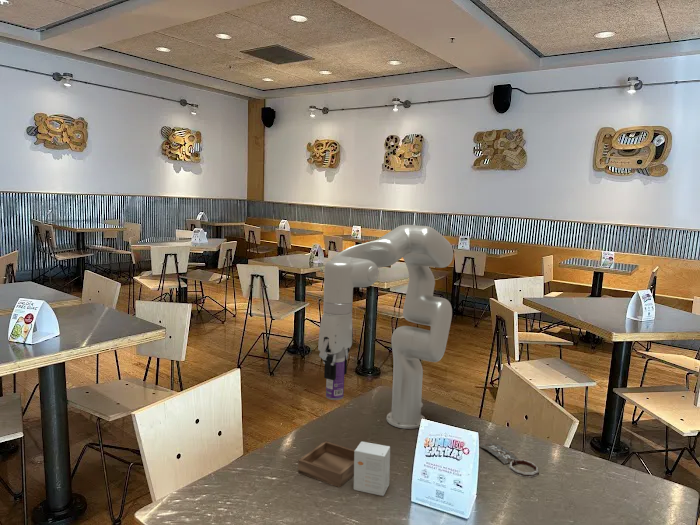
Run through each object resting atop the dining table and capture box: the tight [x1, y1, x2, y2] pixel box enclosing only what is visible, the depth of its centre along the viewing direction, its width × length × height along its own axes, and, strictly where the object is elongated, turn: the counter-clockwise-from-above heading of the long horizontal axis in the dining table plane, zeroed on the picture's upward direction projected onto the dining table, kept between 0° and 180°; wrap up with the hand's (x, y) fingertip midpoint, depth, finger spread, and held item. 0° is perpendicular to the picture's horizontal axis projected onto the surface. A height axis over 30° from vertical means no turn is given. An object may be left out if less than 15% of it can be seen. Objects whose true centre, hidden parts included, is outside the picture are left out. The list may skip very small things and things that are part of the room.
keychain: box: [479, 442, 539, 478], centre depth 147 cm, size 8×19×2 cm, turn 25°
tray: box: [297, 440, 355, 488], centre depth 139 cm, size 13×13×4 cm
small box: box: [353, 441, 391, 497], centre depth 130 cm, size 8×6×10 cm
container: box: [325, 347, 345, 401], centre depth 137 cm, size 5×5×15 cm
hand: (335, 375), depth 137 cm, fingers closed on container, 4 cm apart
